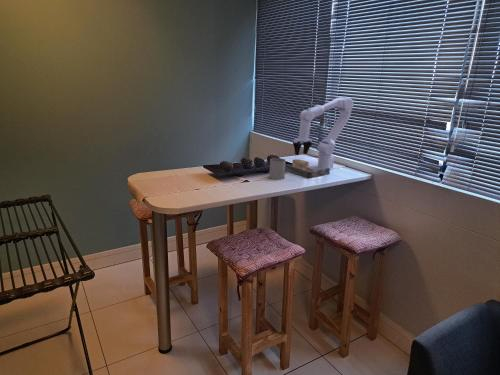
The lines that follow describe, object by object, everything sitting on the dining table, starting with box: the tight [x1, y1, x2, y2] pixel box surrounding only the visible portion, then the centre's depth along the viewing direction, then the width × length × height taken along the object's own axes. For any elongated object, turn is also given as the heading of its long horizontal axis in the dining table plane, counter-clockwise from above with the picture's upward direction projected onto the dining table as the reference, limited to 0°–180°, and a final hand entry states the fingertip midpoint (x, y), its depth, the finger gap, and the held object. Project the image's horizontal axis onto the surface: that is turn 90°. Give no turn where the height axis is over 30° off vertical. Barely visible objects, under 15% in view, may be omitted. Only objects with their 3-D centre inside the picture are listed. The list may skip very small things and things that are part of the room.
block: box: [291, 158, 310, 170], centre depth 206 cm, size 4×9×5 cm, turn 38°
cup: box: [268, 157, 286, 181], centre depth 188 cm, size 8×8×10 cm
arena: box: [285, 163, 331, 179], centre depth 201 cm, size 17×23×4 cm
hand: (300, 154), depth 203 cm, fingers open, 7 cm apart
